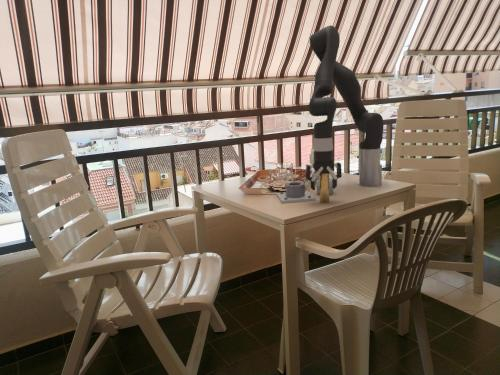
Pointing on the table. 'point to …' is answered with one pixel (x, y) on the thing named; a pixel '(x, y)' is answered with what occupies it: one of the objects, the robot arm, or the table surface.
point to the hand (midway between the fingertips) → (323, 189)
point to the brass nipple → (324, 187)
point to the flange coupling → (295, 193)
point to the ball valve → (313, 161)
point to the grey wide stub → (329, 187)
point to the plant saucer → (283, 187)
